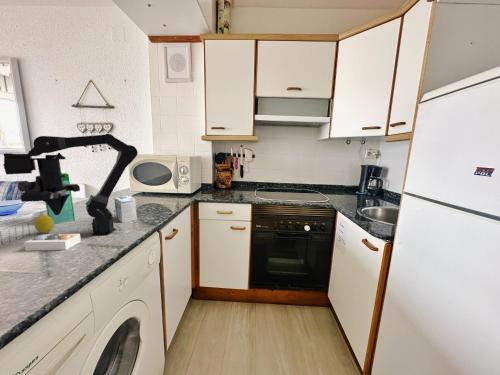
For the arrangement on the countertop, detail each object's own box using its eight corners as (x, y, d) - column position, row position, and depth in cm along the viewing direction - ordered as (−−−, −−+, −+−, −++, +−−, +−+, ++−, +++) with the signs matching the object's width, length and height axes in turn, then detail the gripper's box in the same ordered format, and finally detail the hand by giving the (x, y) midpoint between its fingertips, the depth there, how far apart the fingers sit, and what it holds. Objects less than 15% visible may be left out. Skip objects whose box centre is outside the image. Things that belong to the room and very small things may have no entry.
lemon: (53, 230, 90) (50, 212, 88) (56, 233, 86) (53, 214, 85) (35, 233, 85) (32, 214, 84) (37, 237, 82) (33, 217, 80)
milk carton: (75, 220, 102) (67, 169, 98) (49, 224, 96) (40, 170, 91) (72, 216, 108) (65, 168, 104) (48, 220, 102) (39, 169, 97)
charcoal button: (62, 241, 76) (61, 233, 76) (55, 245, 73) (53, 237, 73) (53, 241, 76) (52, 234, 76) (46, 245, 73) (44, 237, 73)
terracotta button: (74, 241, 77) (73, 233, 76) (67, 245, 74) (66, 236, 73) (65, 241, 76) (64, 233, 76) (58, 245, 73) (57, 237, 73)
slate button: (50, 241, 76) (48, 234, 75) (42, 245, 73) (41, 237, 72) (41, 242, 76) (40, 234, 75) (33, 245, 73) (32, 237, 72)
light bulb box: (115, 218, 106) (113, 197, 104) (130, 215, 111) (128, 195, 109) (122, 223, 99) (120, 200, 97) (137, 219, 104) (135, 198, 102)
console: (44, 241, 78) (42, 234, 77) (80, 241, 79) (79, 233, 78) (25, 250, 71) (24, 242, 70) (66, 249, 72) (64, 241, 71)
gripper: (47, 170, 82) (54, 208, 85) (-4, 175, 64) (6, 224, 67) (78, 170, 84) (83, 207, 86) (36, 175, 65) (45, 223, 68)
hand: (57, 214), depth 77 cm, fingers closed
